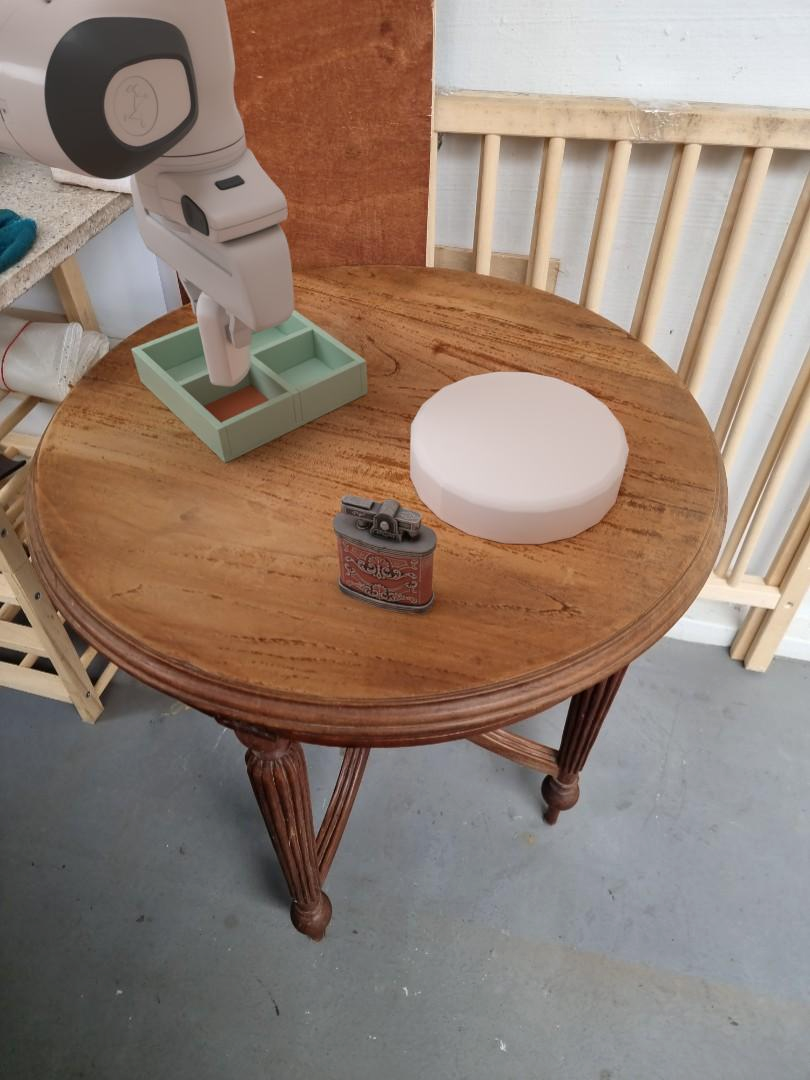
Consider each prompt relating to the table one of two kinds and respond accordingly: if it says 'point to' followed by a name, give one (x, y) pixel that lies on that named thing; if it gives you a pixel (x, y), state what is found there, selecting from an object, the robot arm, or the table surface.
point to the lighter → (385, 555)
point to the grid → (253, 384)
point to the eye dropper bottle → (220, 344)
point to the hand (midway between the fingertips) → (223, 329)
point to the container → (517, 457)
